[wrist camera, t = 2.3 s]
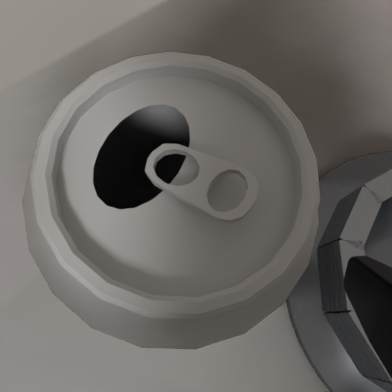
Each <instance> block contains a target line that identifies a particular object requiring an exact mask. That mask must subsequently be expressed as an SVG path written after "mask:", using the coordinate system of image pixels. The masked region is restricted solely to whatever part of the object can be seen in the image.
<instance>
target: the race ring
mask: <svg viewBox="0 0 392 392" xmlns="http://www.w3.org/2000/svg"><path fill="white" fill-rule="evenodd" d="M319 190H320V203H319V207H318V219H319V224H318V228H317V232H316V236H315V240H314V244H313V248H312V252H311V257H310V261H309V265H308V267H307V268H306V270H305V271H304V273H303V274H302V276H301V277H300V279H299V280H298V282H297V283H296V285H295V287H294V288H293V290H292V291H291V293H290V294H289V296H288V297H287V299H286V303H287V307H288V311H289V315H290V319H291V322H292V325H293V328H294V330H295V333H296V336H297V338H298V341H299V343H300V345H301V347H302V349H303V351H304V353H305V355H306V357H307V359H308V361H309V363H310V364H311V366H312V367H313V369H314V370H315V372H316V373H317V375H318V376H319V378H320V379H321V381H322V382H323V383H324V384H325V386H326V387H327V388H328V389H329V390H330V391H331V392H392V379H391V377H390V375H389V374H388V372H387V370H386V369H385V367H384V365H383V364H382V362H381V360H380V359H379V357H378V355H377V354H376V352H375V350H374V349H373V347H372V345H371V343H370V342H369V340H368V338H367V336H366V334H365V332H364V330H363V328H362V326H361V324H360V321H359V319H358V317H357V315H356V313H355V311H354V309H353V307H352V305H351V302H350V300H349V298H348V296H347V294H346V292H345V290H344V286H343V280H344V276H345V272H346V268H347V264H348V260H349V259H350V258H351V257H353V256H368V257H370V258H373V259H375V260H377V261H379V262H381V263H383V264H386V265H388V266H390V267H392V152H380V153H372V154H368V155H364V156H360V157H357V158H354V159H352V160H350V161H347V162H345V163H343V164H341V165H340V166H338V167H336V168H335V169H333V170H332V171H330V172H329V173H328V174H326V175H325V176H324V177H323V178H322V179H321V180H320V181H319Z"/></svg>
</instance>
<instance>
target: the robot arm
mask: <svg viewBox="0 0 392 392" xmlns="http://www.w3.org/2000/svg"><path fill="white" fill-rule="evenodd" d="M343 286H344V290H345V292H346V294H347V296H348V298H349V300H350V302H351V305H352V307H353V309H354V311H355V313H356V315H357V317H358V319H359V321H360V324H361V326H362V328H363V330H364V332H365V334H366V336H367V338H368V340H369V342H370V343H371V345H372V347H373V349H374V350H375V352H376V354H377V355H378V357H379V359H380V360H381V362H382V364H383V365H384V367H385V369H386V370H387V372H388V374H389V375H390V377H391V379H392V267H390V266H388V265H386V264H383V263H381V262H379V261H377V260H375V259H373V258H370V257H368V256H353V257H351V258H350V259H349V260H348V264H347V268H346V272H345V276H344V280H343Z"/></svg>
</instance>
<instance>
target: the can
mask: <svg viewBox="0 0 392 392" xmlns="http://www.w3.org/2000/svg"><path fill="white" fill-rule="evenodd" d="M22 203H23V210H24V217H25V225H26V232H27V239H28V247H29V250H30V252H31V254H32V256H33V258H34V260H35V261H36V263H37V265H38V267H39V269H40V271H41V273H42V275H43V276H44V278H45V280H46V282H47V284H48V286H49V288H50V289H51V291H52V293H53V294H54V295H55V296H56V297H57V298H59V299H60V300H61V301H62V302H63V303H64V304H65V305H66V306H68V307H69V308H70V309H71V310H72V311H73V312H74V313H76V314H77V315H78V316H79V317H80V318H81V319H82V320H83V321H85V322H86V323H87V324H88V325H89V326H90V327H91V328H93V329H96V330H98V331H101V332H104V333H106V334H109V335H111V336H114V337H116V338H119V339H121V340H124V341H126V342H129V343H131V344H134V345H136V346H139V347H142V348H171V349H198V348H201V347H204V346H207V345H210V344H213V343H216V342H219V341H223V340H226V339H229V338H232V337H235V336H238V335H241V334H244V333H246V332H247V331H248V330H250V329H251V328H252V327H254V326H255V325H256V324H257V323H259V322H260V321H261V320H263V319H264V318H265V317H267V316H268V315H269V314H271V313H272V312H273V311H275V310H276V309H277V308H278V307H280V306H281V305H282V304H283V303H284V302H285V300H286V299H287V297H288V296H289V294H290V293H291V291H292V290H293V288H294V287H295V285H296V283H297V282H298V280H299V279H300V277H301V276H302V274H303V273H304V271H305V270H306V268H307V267H308V265H309V261H310V257H311V252H312V248H313V244H314V240H315V236H316V232H317V228H318V224H319V219H318V207H319V203H320V190H319V179H318V167H317V159H316V156H315V154H314V152H313V149H312V147H311V144H310V142H309V140H308V137H307V135H306V132H305V130H304V128H303V125H302V123H301V122H300V121H299V119H298V118H297V117H296V116H295V114H294V113H293V112H292V111H291V110H290V108H289V107H288V106H287V105H286V103H285V102H284V101H283V100H282V98H281V97H280V96H279V95H278V94H277V93H276V92H275V91H274V90H272V89H271V88H269V87H268V86H267V85H265V84H264V83H262V82H261V81H260V80H258V79H257V78H255V77H254V76H253V75H251V74H250V73H248V72H247V71H246V70H244V69H241V68H238V67H236V66H233V65H230V64H228V63H225V62H223V61H220V60H217V59H215V58H212V57H209V56H203V55H195V54H186V53H177V52H162V53H155V54H148V55H142V56H135V57H129V58H126V59H124V60H122V61H120V62H117V63H115V64H113V65H110V66H108V67H106V68H104V69H101V70H99V71H97V72H94V73H92V74H91V75H90V76H89V77H88V78H86V79H85V80H84V81H83V82H82V83H80V84H79V85H78V86H77V87H76V88H75V89H73V90H72V91H71V92H70V93H69V94H67V95H66V96H65V97H64V98H63V99H62V100H61V101H60V103H59V104H58V106H57V107H56V109H55V111H54V112H53V114H52V116H51V117H50V119H49V120H48V122H47V124H46V125H45V127H44V129H43V130H42V132H41V133H40V135H39V139H38V144H37V149H36V152H35V154H34V155H33V157H32V160H31V164H30V169H29V174H28V178H27V183H26V188H25V192H24V197H23V201H22Z"/></svg>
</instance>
